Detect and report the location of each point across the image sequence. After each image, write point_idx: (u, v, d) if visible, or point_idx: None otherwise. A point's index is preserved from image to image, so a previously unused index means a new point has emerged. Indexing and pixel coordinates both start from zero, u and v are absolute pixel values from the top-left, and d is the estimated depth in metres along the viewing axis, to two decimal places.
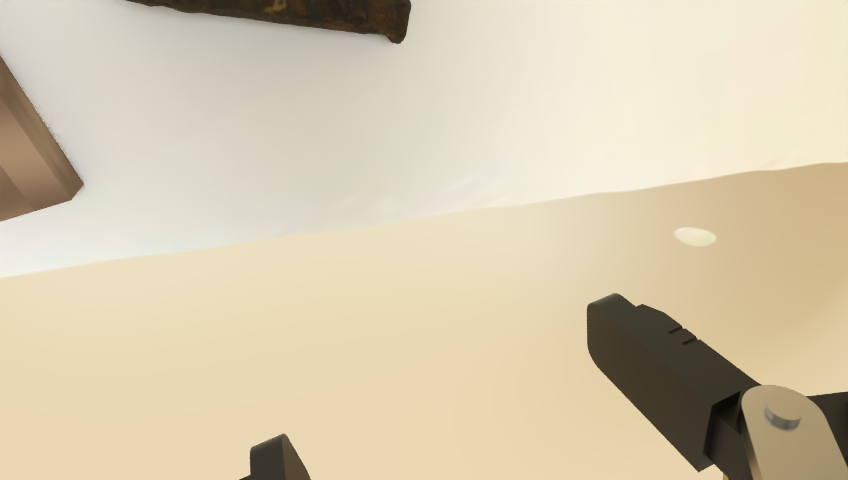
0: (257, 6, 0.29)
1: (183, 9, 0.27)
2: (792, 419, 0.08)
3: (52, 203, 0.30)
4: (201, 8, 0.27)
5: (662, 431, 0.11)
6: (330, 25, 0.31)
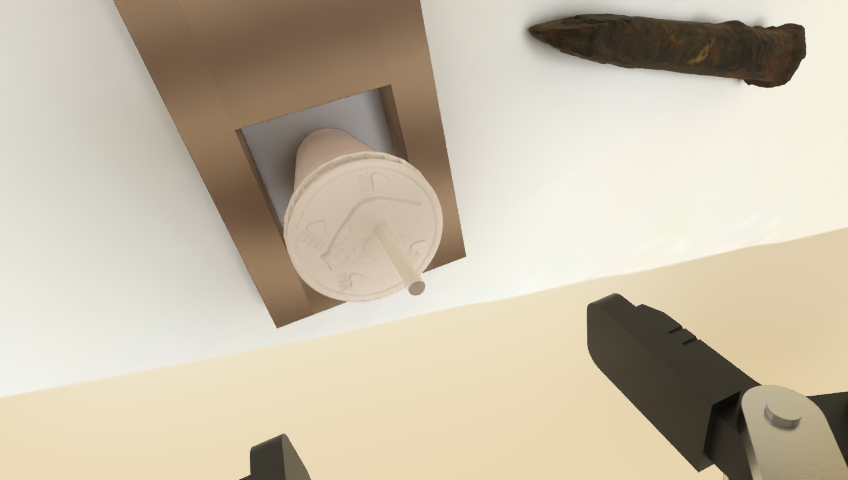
0: (684, 58, 0.27)
1: (635, 66, 0.26)
2: (792, 419, 0.08)
3: (450, 260, 0.29)
4: (648, 64, 0.26)
5: (662, 431, 0.11)
6: (730, 73, 0.29)
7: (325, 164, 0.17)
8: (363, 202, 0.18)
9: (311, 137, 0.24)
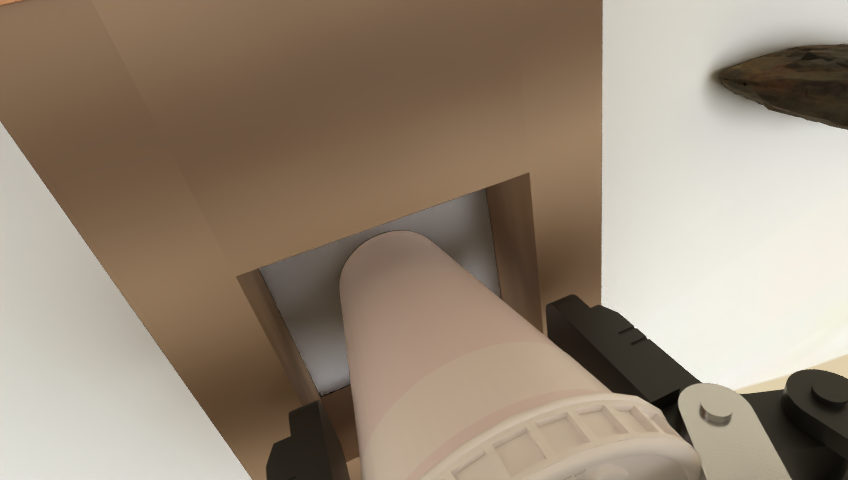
0: None
1: None
2: (725, 415, 0.08)
3: None
4: None
5: None
6: None
7: (472, 448, 0.07)
8: None
9: (371, 256, 0.14)
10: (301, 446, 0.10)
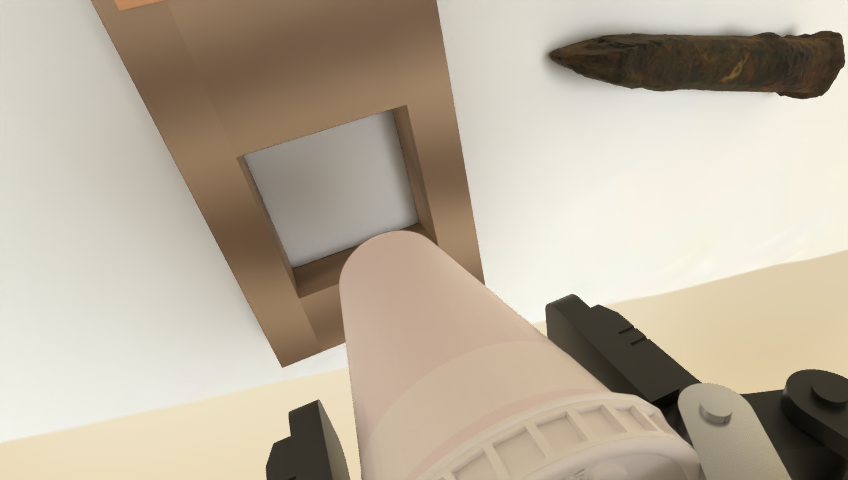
0: (717, 76, 0.26)
1: (667, 89, 0.24)
2: (725, 415, 0.08)
3: None
4: (680, 86, 0.24)
5: None
6: (764, 88, 0.28)
7: (472, 447, 0.07)
8: None
9: (371, 256, 0.14)
10: (301, 446, 0.10)
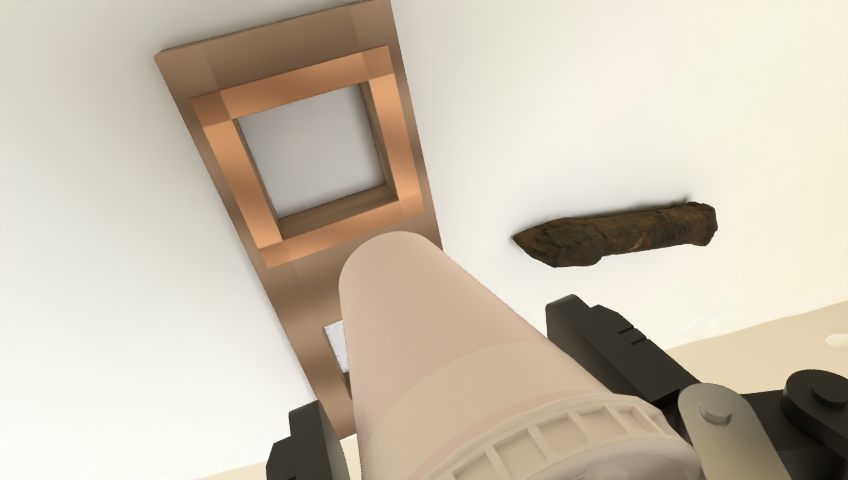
0: (624, 249, 0.39)
1: (588, 265, 0.37)
2: (725, 415, 0.08)
3: None
4: (597, 261, 0.37)
5: None
6: (661, 247, 0.41)
7: (473, 449, 0.07)
8: None
9: (371, 257, 0.14)
10: (301, 446, 0.10)
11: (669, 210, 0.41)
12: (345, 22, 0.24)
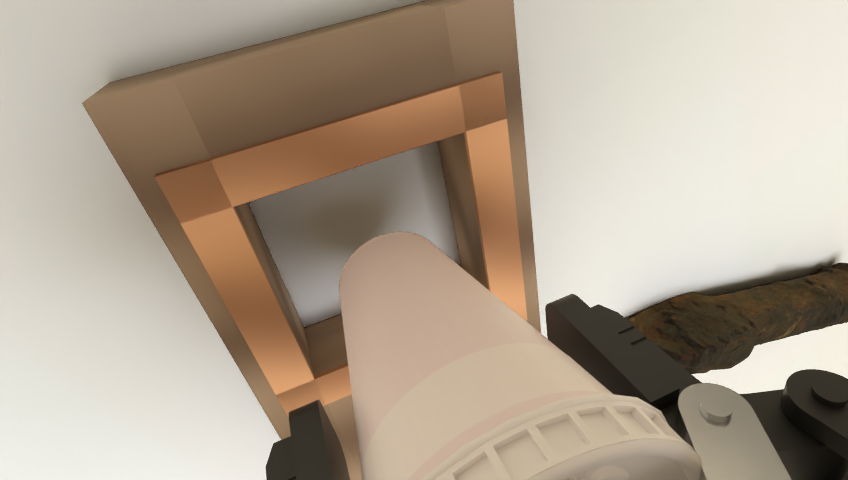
0: (772, 338, 0.28)
1: None
2: (725, 415, 0.08)
3: None
4: (741, 360, 0.27)
5: None
6: None
7: (473, 450, 0.07)
8: None
9: (371, 258, 0.14)
10: (301, 446, 0.10)
11: (822, 279, 0.30)
12: (435, 34, 0.14)
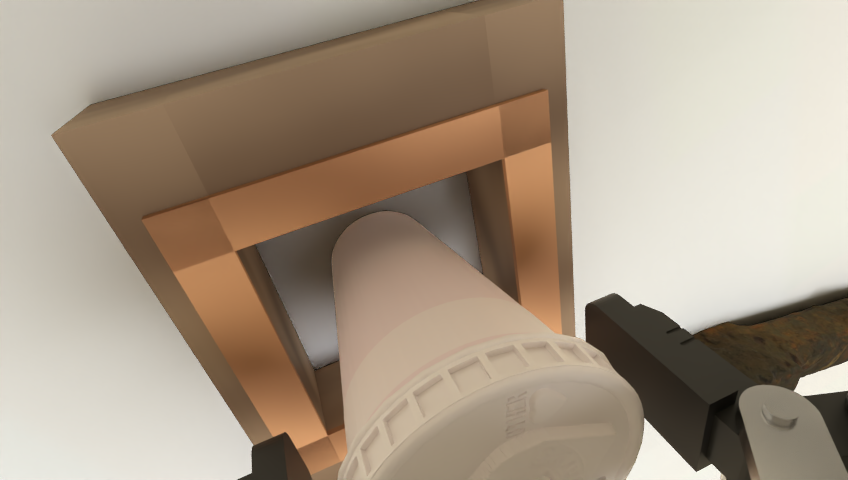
0: (815, 370, 0.26)
1: None
2: (789, 419, 0.08)
3: None
4: None
5: (660, 431, 0.11)
6: None
7: (431, 373, 0.08)
8: (510, 448, 0.08)
9: (359, 233, 0.15)
10: None
11: None
12: (473, 47, 0.12)
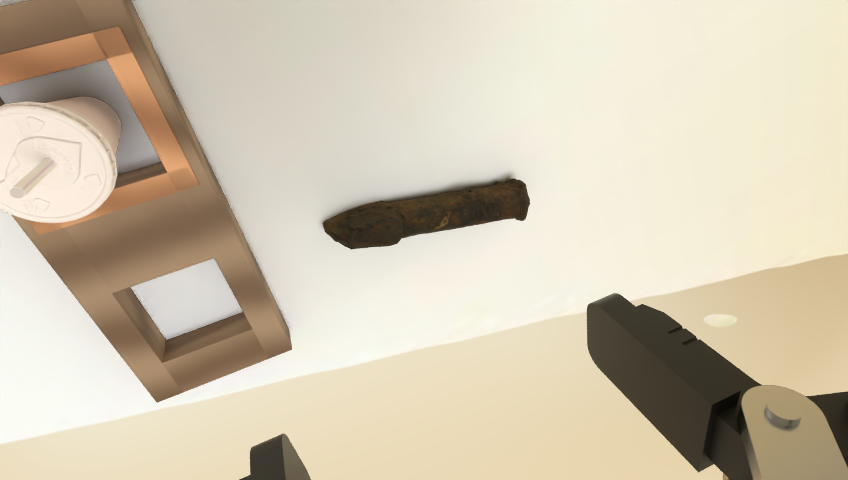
0: (430, 228, 0.41)
1: (388, 245, 0.40)
2: (792, 419, 0.08)
3: (280, 352, 0.42)
4: (398, 241, 0.40)
5: (662, 431, 0.11)
6: (475, 224, 0.43)
7: None
8: (24, 140, 0.23)
9: None
10: None
11: (482, 188, 0.43)
12: (69, 5, 0.27)
